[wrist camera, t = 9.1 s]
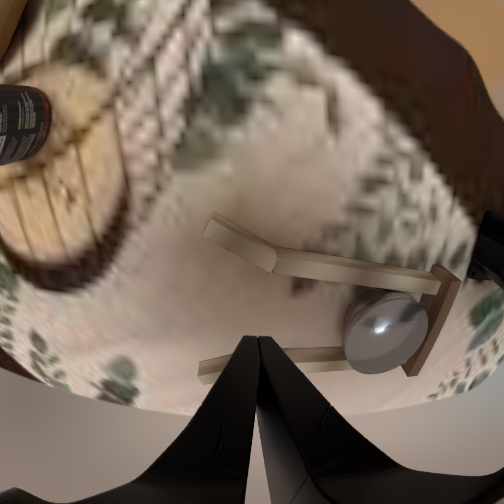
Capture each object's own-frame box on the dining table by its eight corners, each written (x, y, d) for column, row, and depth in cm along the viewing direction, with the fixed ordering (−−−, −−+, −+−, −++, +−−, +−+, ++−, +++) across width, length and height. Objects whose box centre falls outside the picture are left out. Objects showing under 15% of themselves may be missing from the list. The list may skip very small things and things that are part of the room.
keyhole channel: (449, 242, 21) (470, 256, 18) (397, 371, 26) (407, 391, 23) (205, 211, 19) (200, 224, 17) (199, 370, 25) (195, 394, 22)
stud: (417, 278, 22) (440, 301, 19) (392, 344, 25) (408, 370, 21) (345, 274, 22) (362, 299, 18) (324, 345, 24) (335, 376, 21)
